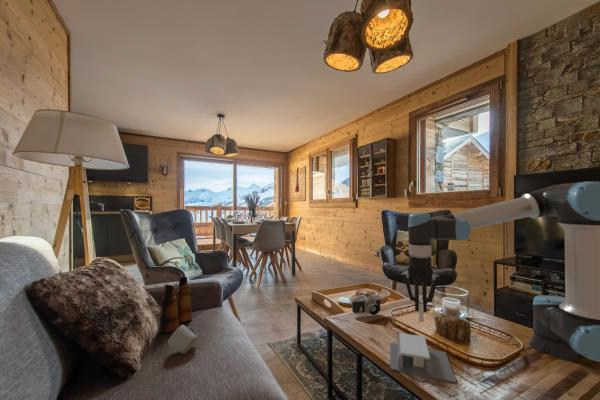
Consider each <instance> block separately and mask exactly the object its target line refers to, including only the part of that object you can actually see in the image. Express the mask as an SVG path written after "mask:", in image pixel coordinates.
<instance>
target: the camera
mask: <svg viewBox="0 0 600 400" xmlns="http://www.w3.org/2000/svg"><path fill="white" fill-rule="evenodd" d="M351 300H352V301H351V302H352V306H351V307H352V310H351V311H352V312H351V313H352V314H353V315H354V314H355V315H360V314H370V315H371V316H376V315H377V314H378V313H380V312H381V296H379V295H378V294H375V295H373V294H371V293H363V295H354V296H353V297H352V299H351Z"/></svg>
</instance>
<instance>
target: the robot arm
mask: <svg viewBox="0 0 600 400" xmlns="http://www.w3.org/2000/svg"><path fill="white" fill-rule="evenodd" d="M528 217H529V218H531V219H538V218H544V217H557V225H558V226H560V227H561V228H563V230H564V274H565V275H564V278H565V279H564V280H565V282H564V284H565V286H564V288H565V290H564V291H565V292H564V293H565V294H564V295H565V297H560V296H554V295H553V296H552V295H546V294H545V295H543V294H541V295H535V296H534V297H533V302H532V307H533V308H532V311H533V312H532V313H533V314H532V316H533V318H532V319H533V321H532V323H533V325H532V327H533V328H532V329H533V330H532V332H533V333H532V335H531V337H530V339H529V341H528V345H529V346H530V348H531V349H533V350H535V351H536V352H538V353H541V354H547V355H548V356H550V357H552V358H553V359H559V360H564V361H574V362H575V361H579V359H580V358H583V357H585V358H586V359H588V360H590V361H595V362H599V363H600V181H587V180H586V181H579V182H570V183H561V184H560V183H559V184H558V183H557V184H553V185H551V186H548V187H544V188H540V189H537V190H535V191H530V192H527V193H523V194H522V195H521V196H520V197H518V198H513V199H509V200H506V201H505V200H504V201H500V202H496V203H491V204H488V205H483V206H478V207H475V208H471V209H467V210H461V211H458V212H453V213H451V214H446V215H445V214H444V215H435V216H433V217H432V216H431V214H430V213H425V212H424V213H418V212H416V213H410V214H409V215H408V221H407V222H408V224H407V227H408V228H407V230H408V232H407V233H408V236H407V237H408V254H409V255H408V268H407V271H405V272H401V277H402V278H403V280H404V283H405V286H406V289H407V293H408V297H409V300H410V301H413V302H414V310H415V311H416V312H417V315H418V316H417V318H418V322H421V323H424V322H425V321H424V316H425V314H424V313H427V311H428V309H427V308H428V306H427V305H428V303H430V304H431V303H433V299H434V297H435V293H436V288H437V284H438V283H439V282H440V280H441V277H440V275H438V274H436V273H434V271H433V269H432V267H433V266H432V257H431V256H432V241H437V240H438V241H439V240H440V241H457V242H458V241H467V240H469V238H470V236H471V230H473V229H478V228H481V227H482V228H483V227H487V226H491V225H496V224H502V223H506V222H511V221H514V220H515V221H516V220H520V219H525V218H528ZM409 275H410V276H409ZM409 277H411V279H412V280H413V281H414V295H413V292H412V288H411V285H410V281H409ZM430 278H431V279H432V280H431V284H430V287H429V292H428V291H427V290H428V289H427V285H428V284H427V282H428V280H430ZM420 282H421V296H422V297H421V299H422V300H420V289H419V288H420V287H419V285H420ZM427 292H428V293H427ZM427 295H428V296H427Z"/></svg>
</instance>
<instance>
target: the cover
mask: <svg viewBox="0 0 600 400" xmlns="http://www.w3.org/2000/svg"><path fill="white" fill-rule="evenodd" d="M399 338H400V352H401V355H405V356H411V357H417V358H422V359H428V360H430V356H429V352H428V349H429V348H428V346H427V339H426V336H423V335H415V334H409V333H403V332H400V333H399ZM425 339H426V340H425Z"/></svg>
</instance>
